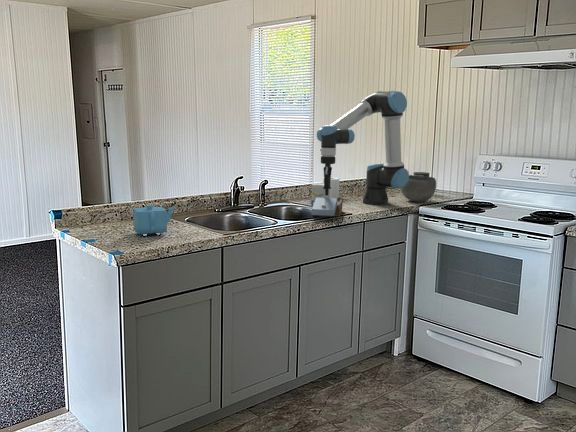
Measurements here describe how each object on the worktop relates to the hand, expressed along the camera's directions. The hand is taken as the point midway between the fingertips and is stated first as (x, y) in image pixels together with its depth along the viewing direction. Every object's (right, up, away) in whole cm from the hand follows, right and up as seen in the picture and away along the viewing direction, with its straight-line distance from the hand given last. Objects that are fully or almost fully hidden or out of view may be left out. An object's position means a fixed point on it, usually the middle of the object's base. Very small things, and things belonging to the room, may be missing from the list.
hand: (326, 201), depth 294 cm
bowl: (+59, +1, +49) cm, 76 cm away
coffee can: (+67, +6, +78) cm, 103 cm away
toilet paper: (+7, +4, +59) cm, 59 cm away
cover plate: (-1, -4, -8) cm, 9 cm away
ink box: (-2, -1, +34) cm, 34 cm away
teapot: (-77, -16, -48) cm, 92 cm away
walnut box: (+1, -6, +5) cm, 8 cm away
